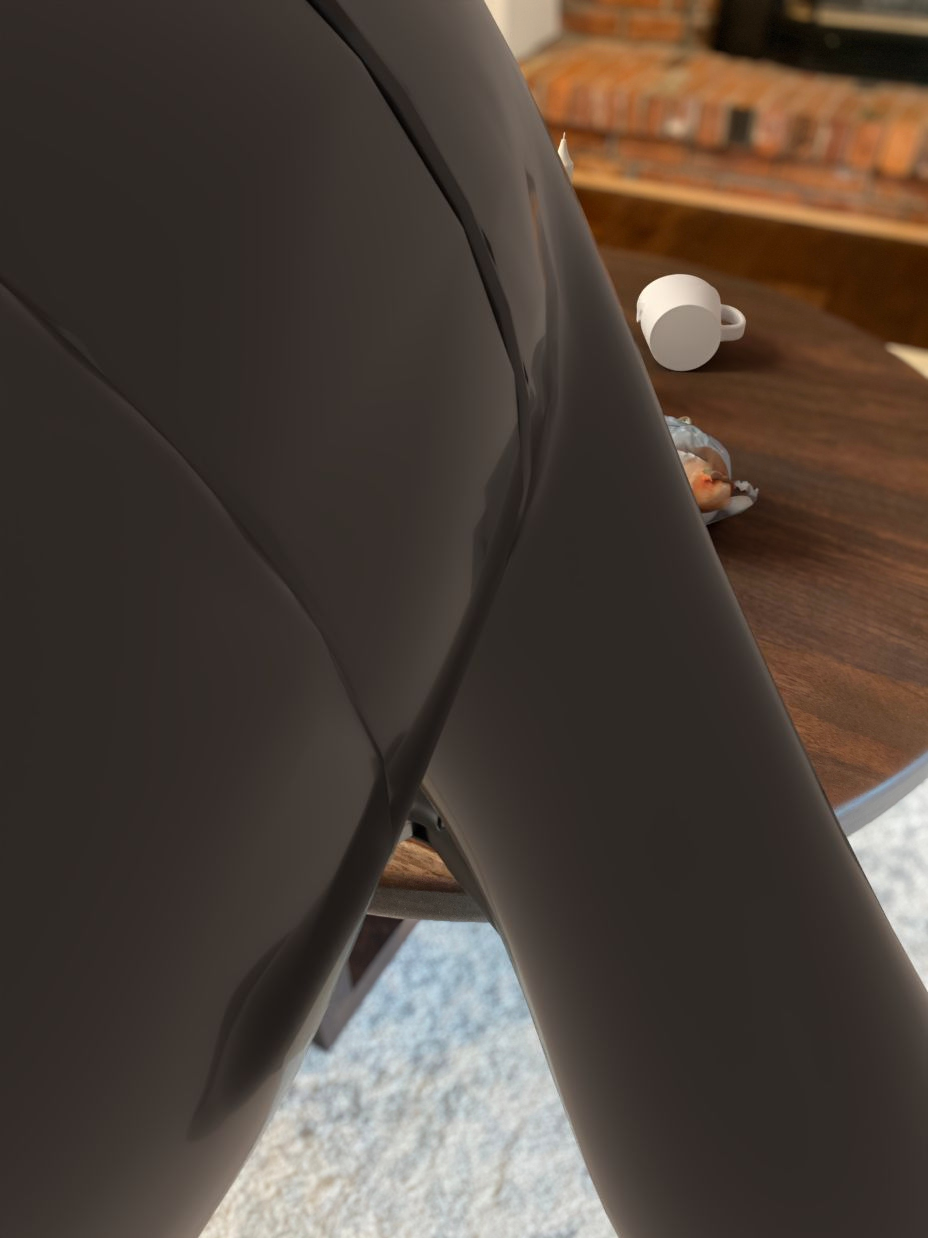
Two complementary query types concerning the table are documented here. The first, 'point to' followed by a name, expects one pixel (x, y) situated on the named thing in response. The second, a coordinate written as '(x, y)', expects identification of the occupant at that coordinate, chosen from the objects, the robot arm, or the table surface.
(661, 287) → the mug
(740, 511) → the white snowman head
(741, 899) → the robot arm
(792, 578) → the table surface
